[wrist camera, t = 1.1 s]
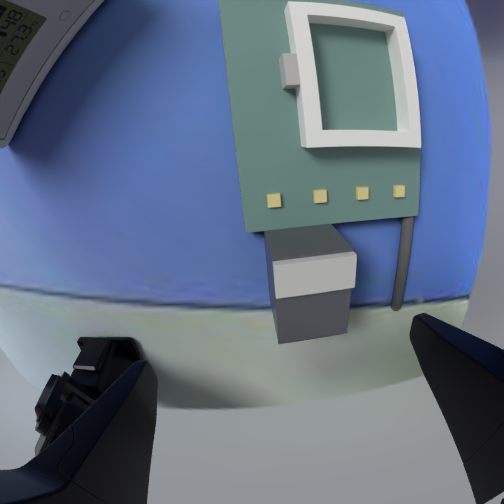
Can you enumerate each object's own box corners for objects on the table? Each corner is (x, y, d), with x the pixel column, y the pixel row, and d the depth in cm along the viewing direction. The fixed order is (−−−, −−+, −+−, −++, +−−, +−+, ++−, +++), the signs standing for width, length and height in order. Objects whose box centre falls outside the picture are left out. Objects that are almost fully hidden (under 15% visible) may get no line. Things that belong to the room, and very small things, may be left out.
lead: (397, 305, 23) (402, 311, 22) (388, 307, 23) (392, 314, 22) (411, 173, 18) (418, 176, 18) (401, 173, 18) (408, 176, 18)
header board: (409, 211, 20) (428, 222, 17) (245, 227, 20) (246, 241, 17) (394, 16, 13) (412, 6, 11) (219, 6, 13) (217, -11, 11)
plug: (325, 289, 22) (349, 337, 17) (269, 297, 22) (279, 349, 17) (325, 218, 20) (357, 251, 14) (262, 224, 20) (273, 262, 14)
